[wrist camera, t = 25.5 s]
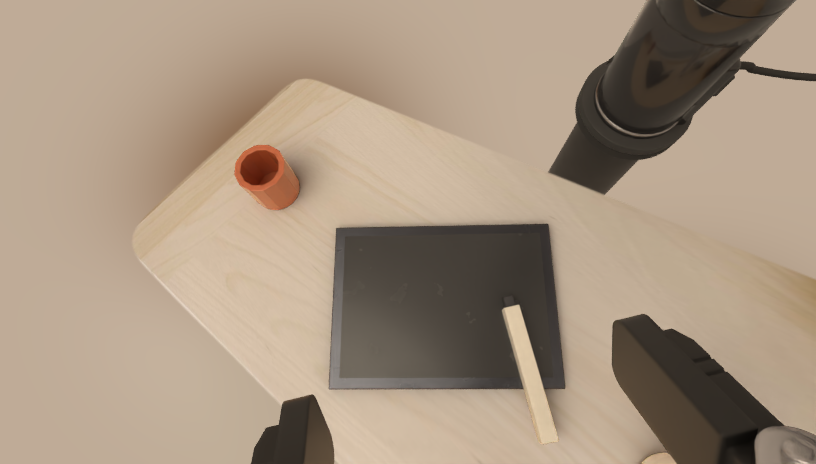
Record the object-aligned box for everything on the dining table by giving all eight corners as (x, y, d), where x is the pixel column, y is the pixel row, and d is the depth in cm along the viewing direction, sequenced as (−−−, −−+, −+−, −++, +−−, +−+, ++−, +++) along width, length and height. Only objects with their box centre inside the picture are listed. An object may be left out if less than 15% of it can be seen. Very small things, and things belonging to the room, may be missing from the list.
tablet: (546, 226, 47) (548, 223, 46) (562, 388, 42) (565, 388, 41) (338, 230, 48) (335, 227, 47) (330, 388, 43) (328, 389, 42)
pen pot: (301, 168, 50) (286, 144, 45) (298, 209, 49) (282, 190, 44) (257, 169, 50) (237, 145, 45) (253, 210, 49) (231, 191, 44)
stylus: (516, 293, 42) (559, 441, 38) (513, 296, 44) (554, 438, 40) (500, 297, 42) (542, 445, 38) (498, 299, 44) (538, 442, 40)
